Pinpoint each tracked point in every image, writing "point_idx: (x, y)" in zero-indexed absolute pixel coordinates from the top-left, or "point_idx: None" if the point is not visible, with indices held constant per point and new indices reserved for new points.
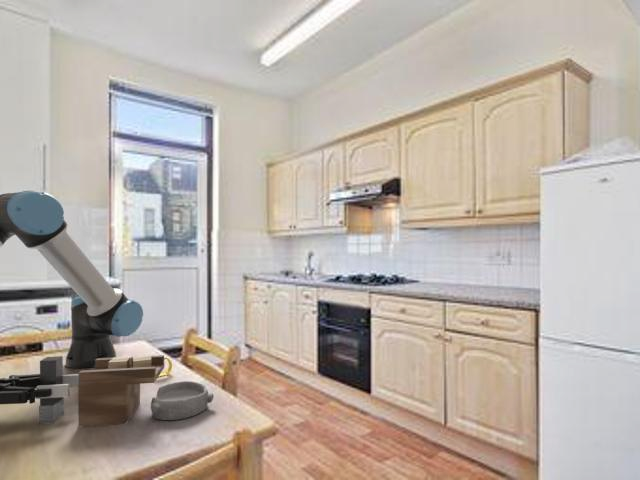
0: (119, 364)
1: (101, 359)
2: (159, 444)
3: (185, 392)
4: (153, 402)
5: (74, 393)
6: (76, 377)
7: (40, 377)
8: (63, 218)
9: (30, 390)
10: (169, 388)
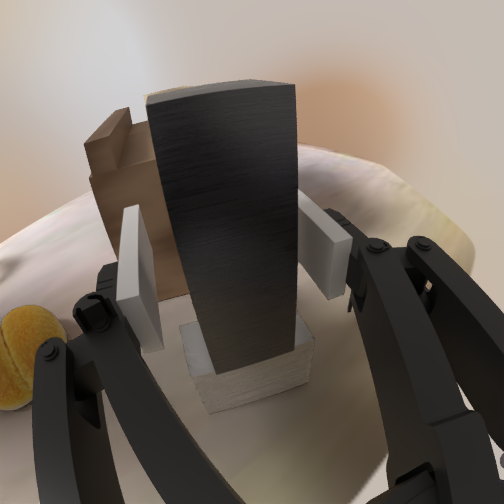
0: None
1: (108, 132)
2: (308, 163)
3: None
4: None
5: (8, 437)
6: (141, 223)
7: (296, 218)
8: None
9: (386, 249)
10: None
